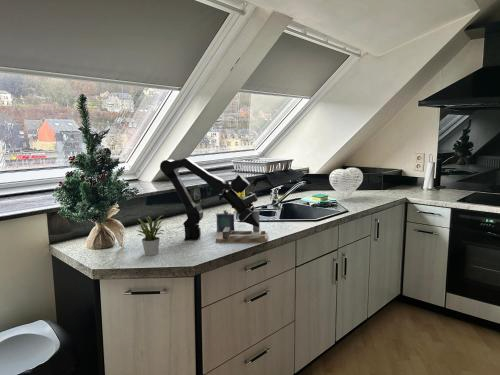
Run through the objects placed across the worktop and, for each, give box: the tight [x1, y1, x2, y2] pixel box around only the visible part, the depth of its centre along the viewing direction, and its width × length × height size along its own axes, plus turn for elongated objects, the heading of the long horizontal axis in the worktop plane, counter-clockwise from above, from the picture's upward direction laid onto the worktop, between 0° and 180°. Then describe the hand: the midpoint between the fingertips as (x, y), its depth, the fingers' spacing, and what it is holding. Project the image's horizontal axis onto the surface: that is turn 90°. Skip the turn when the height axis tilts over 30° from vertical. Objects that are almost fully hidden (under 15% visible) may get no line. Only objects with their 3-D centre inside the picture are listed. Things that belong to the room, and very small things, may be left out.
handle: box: [251, 209, 262, 235], centre depth 176 cm, size 4×7×11 cm, turn 176°
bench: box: [215, 227, 269, 243], centre depth 177 cm, size 23×11×4 cm, turn 86°
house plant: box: [136, 214, 166, 256], centre depth 158 cm, size 14×14×16 cm
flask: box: [216, 209, 235, 233], centre depth 191 cm, size 9×3×11 cm, turn 72°
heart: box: [329, 167, 364, 200], centre depth 272 cm, size 28×16×22 cm, turn 129°
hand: (259, 223), depth 176 cm, fingers open, 9 cm apart
